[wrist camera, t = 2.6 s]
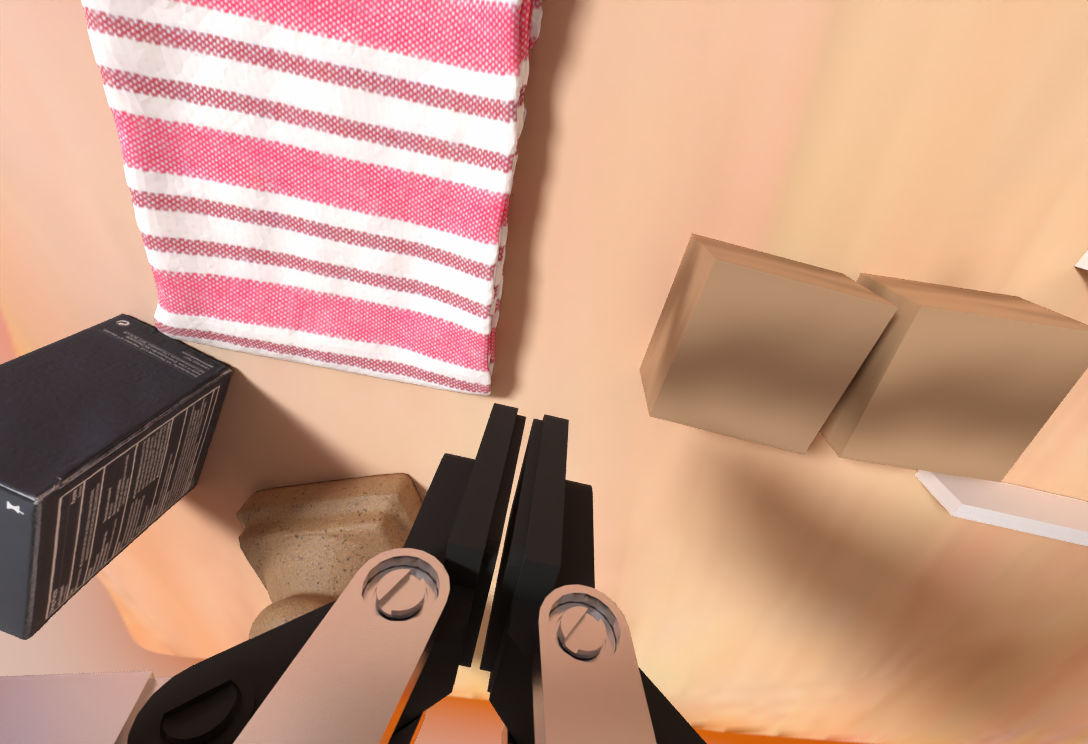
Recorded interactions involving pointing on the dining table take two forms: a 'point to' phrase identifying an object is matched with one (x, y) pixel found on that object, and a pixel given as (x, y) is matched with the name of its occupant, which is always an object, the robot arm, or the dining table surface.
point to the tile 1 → (758, 344)
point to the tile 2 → (956, 380)
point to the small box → (94, 455)
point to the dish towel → (324, 173)
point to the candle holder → (321, 538)
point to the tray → (1011, 501)
